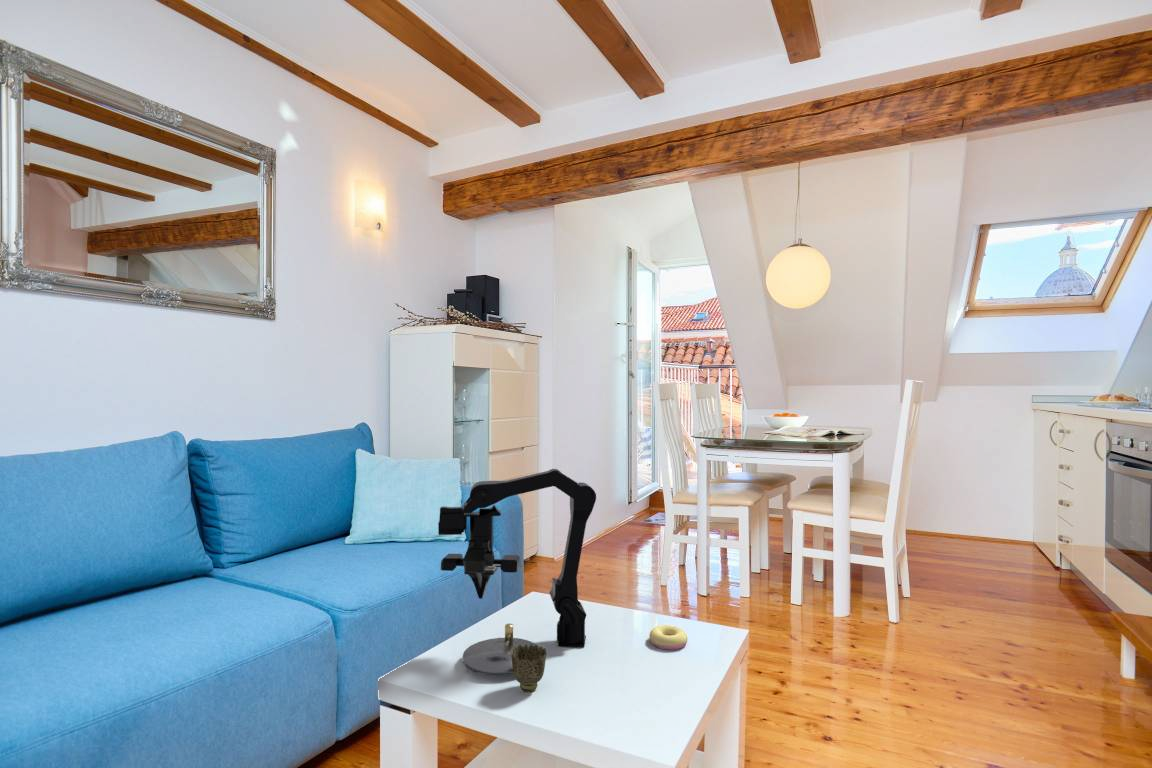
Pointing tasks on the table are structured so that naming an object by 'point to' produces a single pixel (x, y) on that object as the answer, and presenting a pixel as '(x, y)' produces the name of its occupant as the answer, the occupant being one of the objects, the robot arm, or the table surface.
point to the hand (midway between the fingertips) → (480, 598)
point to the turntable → (494, 654)
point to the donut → (668, 637)
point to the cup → (528, 666)
